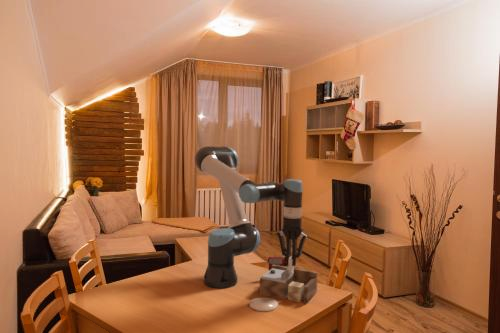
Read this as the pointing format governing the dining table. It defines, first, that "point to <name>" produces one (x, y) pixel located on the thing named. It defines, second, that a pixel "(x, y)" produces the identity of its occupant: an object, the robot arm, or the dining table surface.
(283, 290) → the wooden frame
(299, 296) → the block
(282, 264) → the toy fire truck
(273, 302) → the dish
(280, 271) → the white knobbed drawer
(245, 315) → the dining table surface
